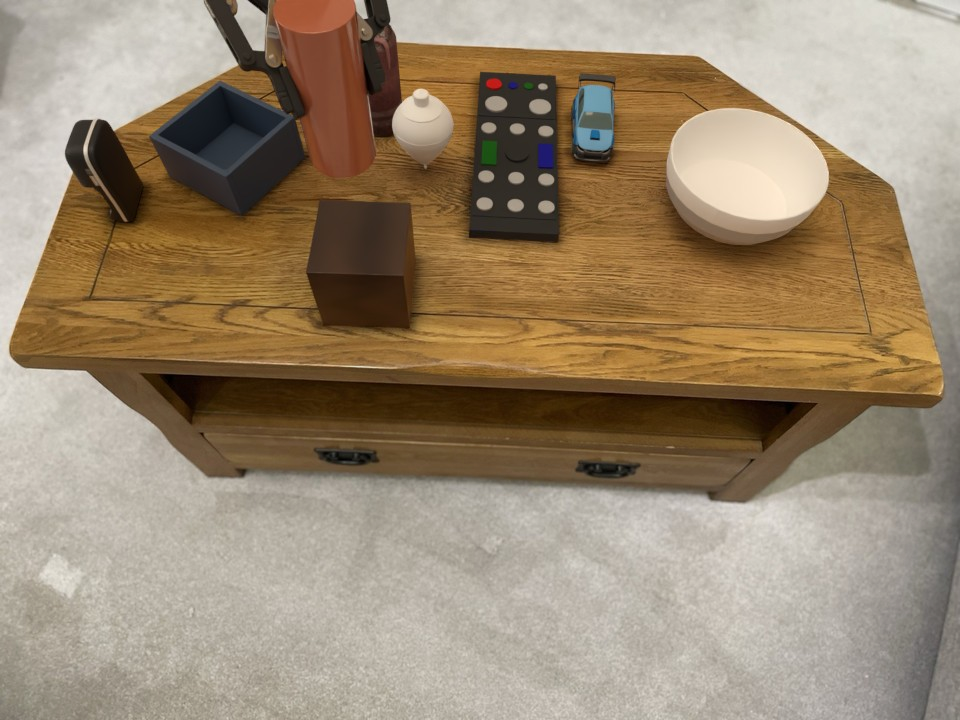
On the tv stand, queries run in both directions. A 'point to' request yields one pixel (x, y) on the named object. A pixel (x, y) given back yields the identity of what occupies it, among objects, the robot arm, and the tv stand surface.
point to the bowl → (744, 175)
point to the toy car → (593, 120)
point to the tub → (229, 146)
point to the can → (386, 84)
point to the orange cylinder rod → (328, 82)
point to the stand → (363, 263)
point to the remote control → (515, 159)
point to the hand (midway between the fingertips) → (339, 104)
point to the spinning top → (422, 126)
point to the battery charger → (104, 167)
